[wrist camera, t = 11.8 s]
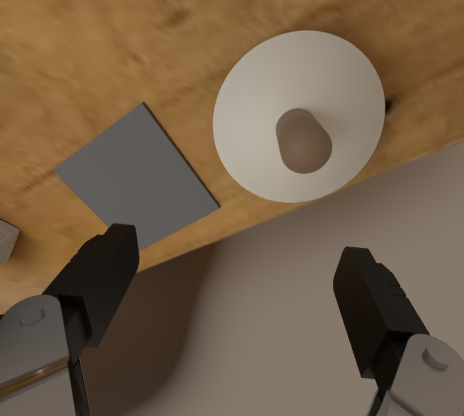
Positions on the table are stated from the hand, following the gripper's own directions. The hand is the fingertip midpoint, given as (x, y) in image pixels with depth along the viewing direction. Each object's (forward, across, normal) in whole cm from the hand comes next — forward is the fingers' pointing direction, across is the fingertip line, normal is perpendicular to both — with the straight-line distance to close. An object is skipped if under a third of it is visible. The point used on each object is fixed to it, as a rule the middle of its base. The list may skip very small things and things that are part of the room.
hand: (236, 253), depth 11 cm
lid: (+18, -4, -1) cm, 19 cm away
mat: (+25, +14, +11) cm, 30 cm away
